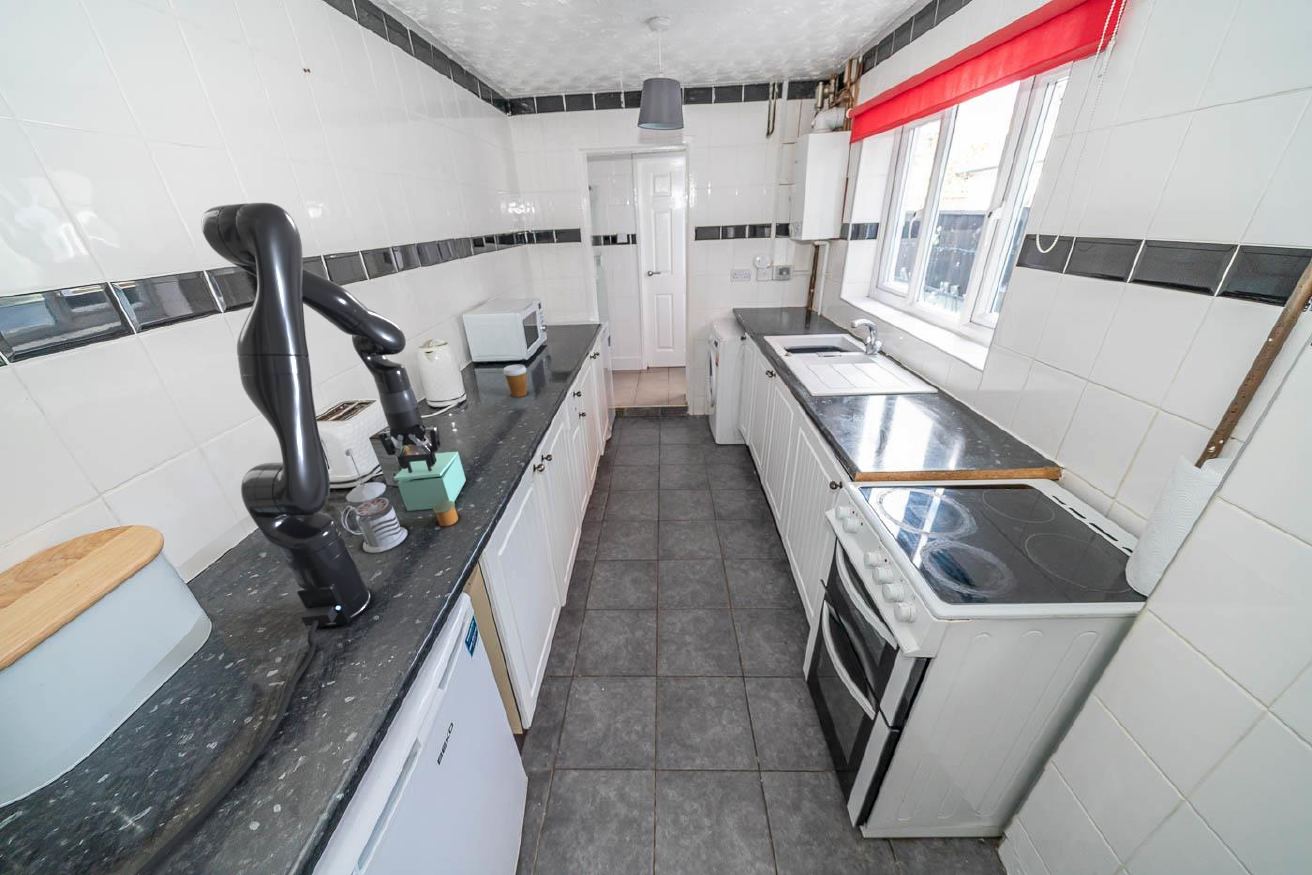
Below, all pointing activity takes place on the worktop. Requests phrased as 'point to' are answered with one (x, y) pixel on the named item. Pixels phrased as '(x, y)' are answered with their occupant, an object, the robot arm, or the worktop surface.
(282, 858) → the worktop surface
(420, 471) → the lid
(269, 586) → the worktop surface
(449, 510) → the cylinder
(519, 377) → the disposable coffee cup
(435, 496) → the mint green open box
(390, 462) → the coffee box
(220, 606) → the worktop surface
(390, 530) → the french press
